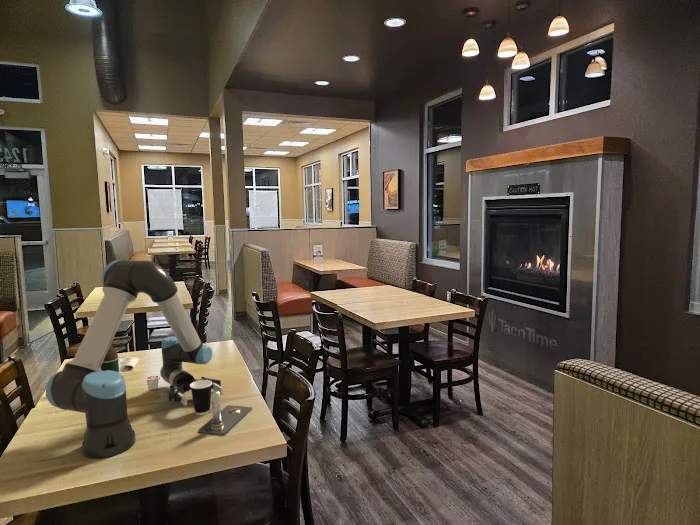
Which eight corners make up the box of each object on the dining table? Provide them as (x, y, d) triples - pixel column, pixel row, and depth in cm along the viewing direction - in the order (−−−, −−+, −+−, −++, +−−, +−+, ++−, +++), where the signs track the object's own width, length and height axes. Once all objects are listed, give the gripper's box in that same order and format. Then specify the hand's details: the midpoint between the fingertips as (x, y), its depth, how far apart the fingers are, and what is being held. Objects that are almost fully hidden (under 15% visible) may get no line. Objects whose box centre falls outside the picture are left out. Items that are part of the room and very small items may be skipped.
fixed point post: (219, 428, 155) (217, 394, 154) (210, 427, 156) (208, 393, 154) (225, 423, 158) (223, 390, 157) (215, 422, 159) (213, 389, 158)
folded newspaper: (132, 373, 213) (97, 376, 210) (140, 360, 231) (108, 363, 227) (131, 366, 213) (96, 369, 210) (140, 354, 230) (108, 356, 227)
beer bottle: (119, 385, 198) (114, 330, 195) (98, 387, 195) (94, 332, 192) (120, 378, 205) (116, 326, 202) (101, 381, 202) (96, 328, 199)
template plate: (224, 435, 152) (224, 432, 152) (198, 432, 155) (198, 429, 155) (252, 409, 171) (252, 407, 171) (228, 407, 174) (227, 404, 174)
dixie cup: (215, 406, 174) (213, 378, 173) (212, 415, 167) (211, 386, 165) (193, 408, 173) (191, 380, 172) (189, 418, 165) (188, 388, 164)
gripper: (212, 381, 193) (235, 396, 177) (150, 398, 177) (170, 416, 161) (211, 364, 192) (234, 377, 176) (149, 379, 176) (169, 396, 160)
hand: (204, 396), depth 168 cm, fingers open, 13 cm apart
